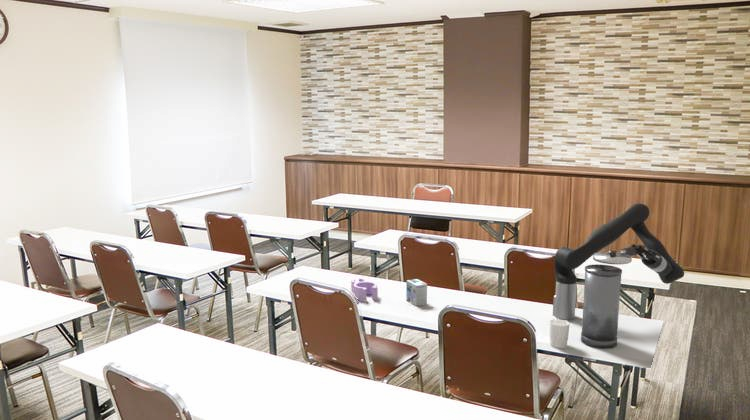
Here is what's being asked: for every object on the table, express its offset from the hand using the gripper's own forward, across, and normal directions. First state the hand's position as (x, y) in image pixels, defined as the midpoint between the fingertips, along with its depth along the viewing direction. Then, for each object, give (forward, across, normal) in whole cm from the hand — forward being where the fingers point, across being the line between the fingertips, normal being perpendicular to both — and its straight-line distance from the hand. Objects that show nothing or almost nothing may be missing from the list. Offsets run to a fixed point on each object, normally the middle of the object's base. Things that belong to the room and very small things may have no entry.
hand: (635, 246), depth 257 cm
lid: (+6, 0, +7) cm, 9 cm away
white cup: (+13, -7, +53) cm, 55 cm away
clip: (+42, -109, +69) cm, 136 cm away
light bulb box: (+27, -85, +61) cm, 108 cm away
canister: (-1, 0, +44) cm, 44 cm away
